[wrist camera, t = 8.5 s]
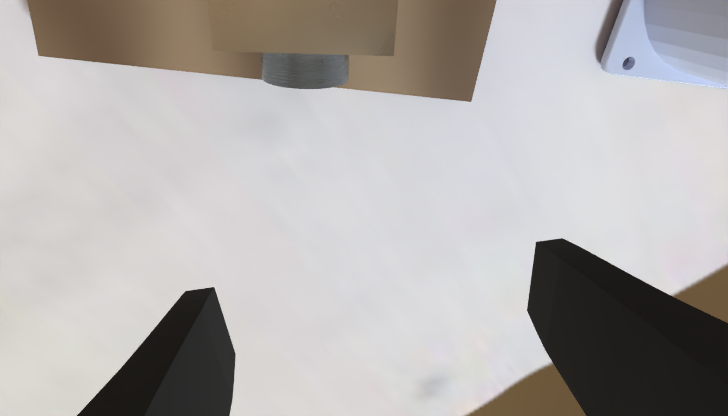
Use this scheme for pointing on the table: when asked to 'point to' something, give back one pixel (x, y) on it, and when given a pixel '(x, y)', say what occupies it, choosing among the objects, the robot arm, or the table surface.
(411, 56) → the board
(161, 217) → the table surface
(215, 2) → the shaft
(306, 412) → the table surface
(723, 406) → the robot arm
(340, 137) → the table surface
